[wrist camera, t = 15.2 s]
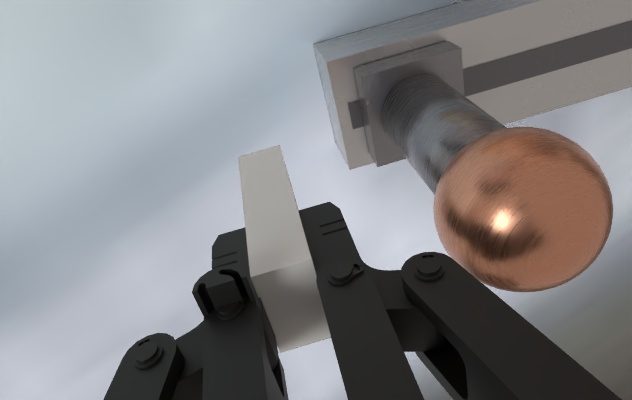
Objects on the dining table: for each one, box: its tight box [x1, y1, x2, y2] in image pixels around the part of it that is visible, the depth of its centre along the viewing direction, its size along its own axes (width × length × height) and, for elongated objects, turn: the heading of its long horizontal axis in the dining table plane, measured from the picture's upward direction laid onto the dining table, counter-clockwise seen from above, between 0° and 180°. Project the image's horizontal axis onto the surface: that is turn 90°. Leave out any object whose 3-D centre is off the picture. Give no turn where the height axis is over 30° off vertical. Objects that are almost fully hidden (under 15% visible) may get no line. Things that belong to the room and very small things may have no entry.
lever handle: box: [354, 41, 613, 292], centre depth 16 cm, size 4×4×11 cm
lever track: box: [313, 0, 632, 169], centre depth 22 cm, size 5×16×3 cm, turn 103°
